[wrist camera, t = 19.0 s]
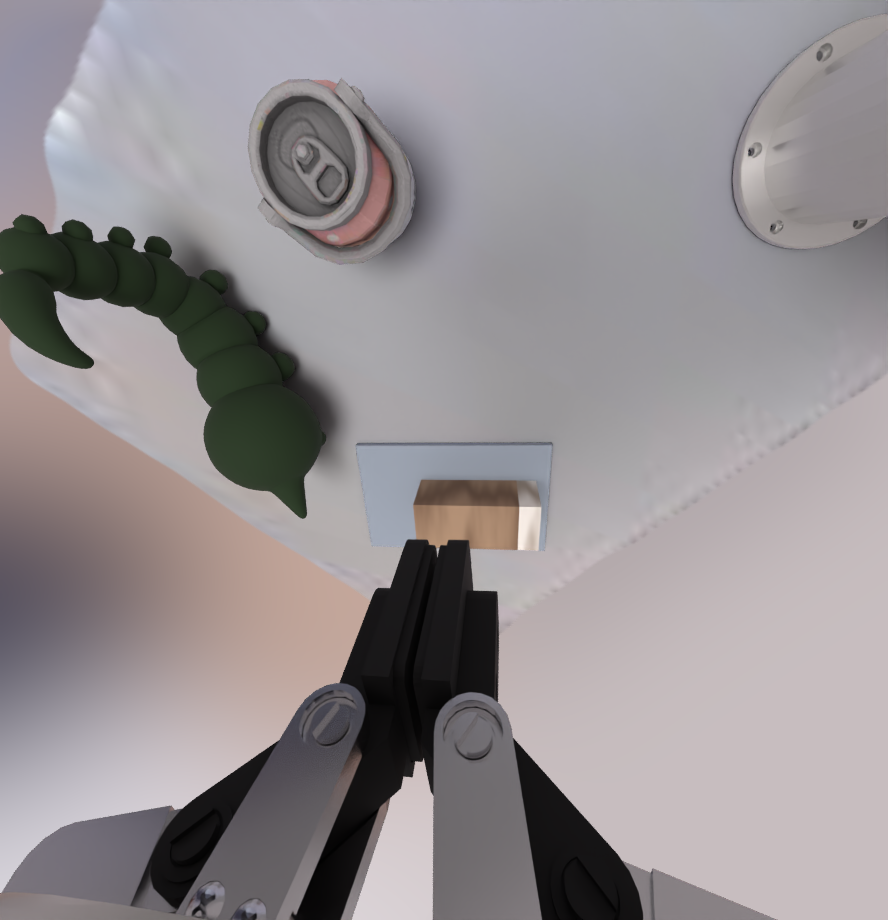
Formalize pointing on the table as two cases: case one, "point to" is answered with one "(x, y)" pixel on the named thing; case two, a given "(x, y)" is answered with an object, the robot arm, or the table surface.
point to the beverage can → (329, 170)
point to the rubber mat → (440, 478)
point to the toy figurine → (198, 333)
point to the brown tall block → (479, 513)
